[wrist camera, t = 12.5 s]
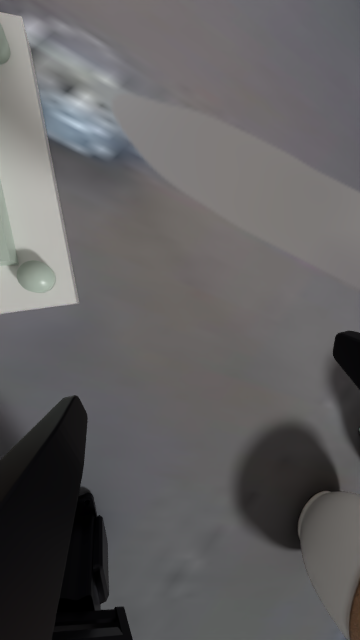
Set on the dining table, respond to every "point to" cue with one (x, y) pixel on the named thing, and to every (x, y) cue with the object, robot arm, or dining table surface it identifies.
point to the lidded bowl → (334, 555)
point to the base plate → (28, 188)
